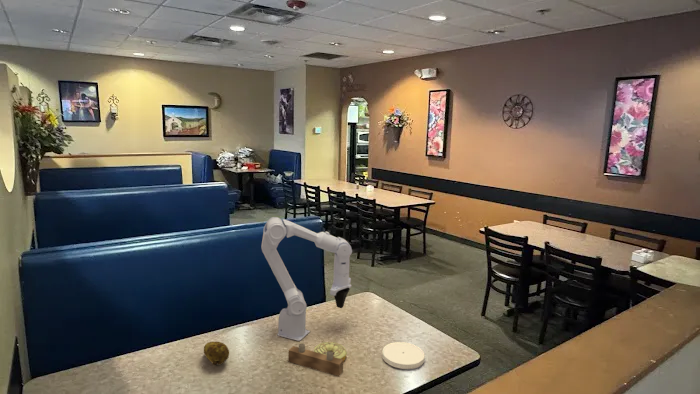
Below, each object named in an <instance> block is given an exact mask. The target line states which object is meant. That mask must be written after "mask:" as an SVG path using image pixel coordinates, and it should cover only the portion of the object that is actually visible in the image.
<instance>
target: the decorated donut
mask: <svg viewBox="0 0 700 394" xmlns="http://www.w3.org/2000/svg"><path fill="white" fill-rule="evenodd" d="M313 351H314V352H317V353H321V354H324V355H327V352H328V351H332V352H333V357H335V358H339V359H343V363H344V362H345V360H346V357H347V354H348V352H347V349H346V348H345V347H344V346H343V345H342V344H340V343H338V342H335V341H324V342H320V343H319V344H318V345H316V346H314V348H313Z"/></svg>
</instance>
